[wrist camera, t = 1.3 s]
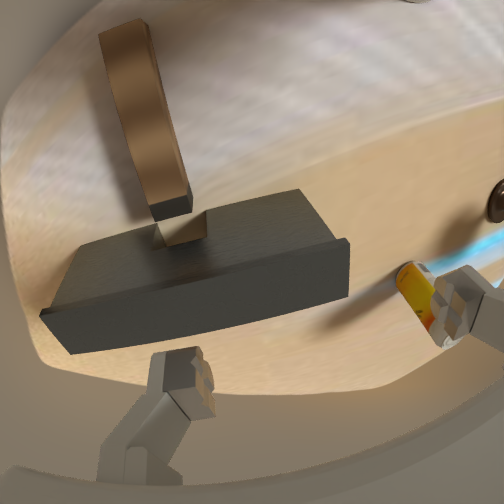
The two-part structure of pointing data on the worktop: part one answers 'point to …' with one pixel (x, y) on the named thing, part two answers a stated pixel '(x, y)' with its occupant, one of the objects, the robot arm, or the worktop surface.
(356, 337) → the worktop surface
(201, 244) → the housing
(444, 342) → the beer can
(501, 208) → the candlestick
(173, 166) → the rod
